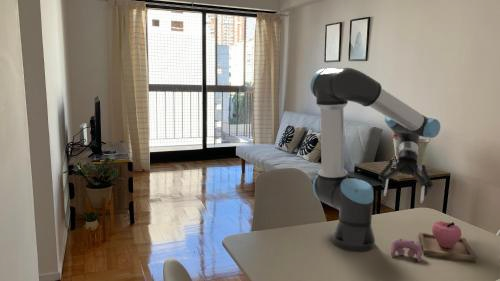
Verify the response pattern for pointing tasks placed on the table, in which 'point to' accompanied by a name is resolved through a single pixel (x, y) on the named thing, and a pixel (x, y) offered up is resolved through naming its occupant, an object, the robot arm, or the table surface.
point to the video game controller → (405, 243)
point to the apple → (446, 234)
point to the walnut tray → (446, 249)
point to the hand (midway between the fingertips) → (403, 198)
